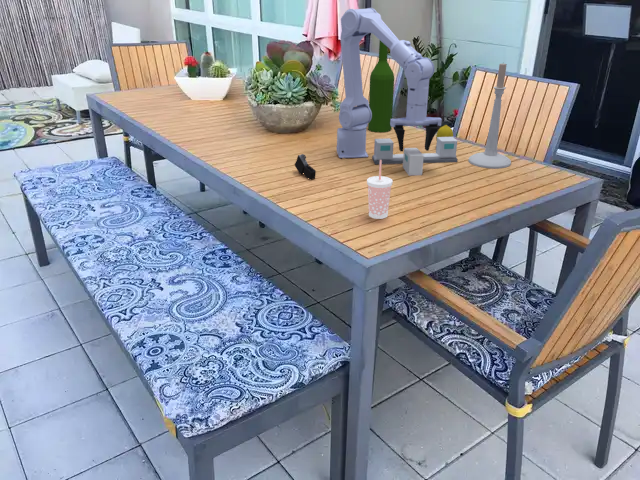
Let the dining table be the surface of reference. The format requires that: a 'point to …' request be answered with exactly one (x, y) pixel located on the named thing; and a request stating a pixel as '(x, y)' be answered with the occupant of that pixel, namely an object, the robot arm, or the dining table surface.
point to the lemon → (444, 132)
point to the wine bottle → (381, 93)
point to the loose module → (413, 161)
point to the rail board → (443, 153)
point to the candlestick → (493, 132)
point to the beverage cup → (379, 195)
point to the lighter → (304, 167)
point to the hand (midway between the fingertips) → (413, 150)
